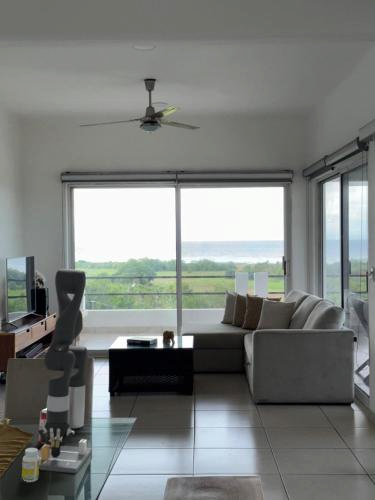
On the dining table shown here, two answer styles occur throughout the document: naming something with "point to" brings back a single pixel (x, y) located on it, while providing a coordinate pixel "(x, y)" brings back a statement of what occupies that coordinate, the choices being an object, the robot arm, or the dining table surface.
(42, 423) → the soda can
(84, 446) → the block
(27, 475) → the supplement bottle
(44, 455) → the fader orange
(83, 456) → the console
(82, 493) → the dining table surface
